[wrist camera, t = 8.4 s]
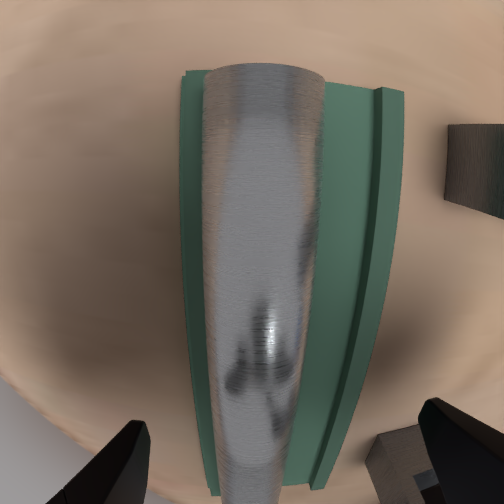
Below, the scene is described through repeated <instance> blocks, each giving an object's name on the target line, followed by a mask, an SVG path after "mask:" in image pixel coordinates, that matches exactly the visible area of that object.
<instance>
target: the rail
mask: <svg viewBox="0 0 504 504" xmlns="http://www.w3.org/2000/svg"><path fill="white" fill-rule="evenodd" d="M324 120H325V80H324V78H323V77H322V76H321V75H319V74H317V73H315V72H313V71H310V70H307V69H303V68H299V67H295V66H289V65H282V64H271V63H247V64H237V65H230V66H225V67H221V68H217V69H214V70H212V71H210V72H208V73H207V74H205V76H204V87H203V117H202V251H203V283H204V306H205V326H206V344H207V359H208V373H209V387H210V399H211V411H212V421H213V432H214V442H215V451H216V460H217V469H218V477H219V485H220V493H221V501H222V504H278V500H279V496H280V492H281V487H282V483H283V478H284V473H285V469H286V464H287V459H288V454H289V449H290V444H291V439H292V433H293V428H294V422H295V417H296V411H297V405H298V399H299V393H300V387H301V381H302V374H303V367H304V361H305V354H306V346H307V339H308V331H309V323H310V315H311V307H312V298H313V289H314V280H315V270H316V259H317V248H318V236H319V223H320V209H321V193H322V175H323V153H324Z"/></svg>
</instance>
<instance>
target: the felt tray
mask: <svg viewBox="0 0 504 504" xmlns="http://www.w3.org/2000/svg"><path fill="white" fill-rule="evenodd" d="M210 71H212V70H193V71H186V76H182V86H181V110H180V226H181V252H182V271H183V288H184V303H185V316H186V328H187V339H188V349H189V359H190V368H191V377H192V386H193V394H194V402H195V409H196V417H197V424H198V431H199V437H200V444H201V450H202V456H203V462H204V468H205V473H206V479H207V484H208V488H210V491H211V496H221V493H220V485H219V477H218V469H217V460H216V451H215V442H214V432H213V421H212V411H211V399H210V387H209V373H208V359H207V344H206V326H205V306H204V283H203V251H202V117H203V87H204V76H205V74H207V73H208V72H210ZM403 146H404V92H403V91H399V90H395V89H390V88H386V87H380V88H378V89H375V90H373V89H367V88H362V87H356V86H351V85H344V84H338V83H331V82H325V120H324V153H323V175H322V193H321V209H320V223H319V236H318V248H317V259H316V270H315V280H314V289H313V298H312V307H311V315H310V323H309V331H308V339H307V346H306V354H305V361H304V367H303V374H302V381H301V387H300V393H299V399H298V405H297V411H296V417H295V422H294V428H293V433H292V439H291V444H290V449H289V454H288V459H287V464H286V469H285V473H284V478H283V483H282V486H287V485H297V484H305V483H309V485H310V489H311V490H318V489H324V487H325V485H326V482H327V480H328V478H329V476H330V473H331V471H332V469H333V466H334V464H335V461H336V459H337V456H338V454H339V451H340V449H341V446H342V444H343V441H344V438H345V436H346V433H347V430H348V428H349V425H350V422H351V419H352V416H353V413H354V410H355V408H356V405H357V401H358V398H359V395H360V392H361V389H362V386H363V382H364V379H365V376H366V372H367V369H368V365H369V362H370V358H371V354H372V351H373V347H374V343H375V339H376V335H377V331H378V327H379V322H380V318H381V313H382V309H383V304H384V299H385V295H386V289H387V284H388V279H389V273H390V268H391V262H392V256H393V249H394V242H395V235H396V228H397V220H398V211H399V202H400V192H401V180H402V166H403Z"/></svg>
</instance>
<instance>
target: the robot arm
mask: <svg viewBox="0 0 504 504" xmlns="http://www.w3.org/2000/svg"><path fill="white" fill-rule="evenodd" d="M418 423H419V426H420V429H421V433H422V436H423V439H424V443H425V446H426V450H427V453H428V456H429V459H430V461H431V464H432V466H433V469H434V471H435V474H436V476H437V479H438V482H439V484H436V485H434V486H431V487H429V488H426V489H424V490H421V491H420V493H421V495H422V497H423V499H424V501H425V504H504V434H503V433H501V432H499V431H497V430H496V429H494V428H492V427H490V426H488V425H486V424H484V423H483V422H481V421H479V420H477V419H475V418H473V417H472V416H470V415H468V414H466V413H464V412H463V411H461V410H459V409H457V408H455V407H454V406H452V405H450V404H448V403H446V402H445V401H443V400H441V399H439V398H437V397H435V398H431V399H428V400H426V401H425V403H424V405H423V407H422V409H421V411H420V413H419V416H418ZM150 444H151V440H150V435H149V432H148V429H147V426H146V423H145V422H144V421H141V420H131V421H129V422H128V423H127V424H126V426H125V427H124V428H123V429H122V430H121V431H120V432H119V433H118V434H117V435H116V436H115V437H114V438H113V439H112V440H111V441H110V442H109V443H108V444H107V445H106V446H105V447H104V448H103V449H102V450H101V451H100V452H99V453H98V454H97V455H96V456H95V457H94V458H93V459H92V460H91V461H90V462H89V463H88V464H87V465H86V466H85V467H84V468H83V469H82V470H81V471H80V472H79V473H78V474H77V475H76V476H75V477H73V478H72V479H71V480H70V481H69V482H68V483H67V485H65V486H64V488H63V489H61V490H60V491H59V492H58V493H57V494H56V495H55V496H54V497H53V498H51V499H50V500H49V501H48V502H47V503H46V504H143V503H144V498H145V493H146V488H147V480H148V468H149V455H150Z"/></svg>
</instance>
